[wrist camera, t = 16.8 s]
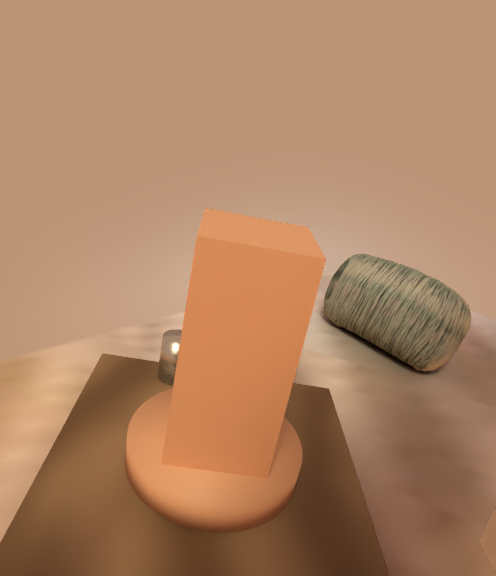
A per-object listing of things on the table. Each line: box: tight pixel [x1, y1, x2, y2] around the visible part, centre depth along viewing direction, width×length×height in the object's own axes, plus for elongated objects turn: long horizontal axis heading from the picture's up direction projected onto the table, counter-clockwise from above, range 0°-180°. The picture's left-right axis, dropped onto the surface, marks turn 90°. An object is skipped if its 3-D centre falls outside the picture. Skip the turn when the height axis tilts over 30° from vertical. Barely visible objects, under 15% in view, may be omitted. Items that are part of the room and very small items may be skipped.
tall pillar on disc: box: [124, 208, 326, 533], centre depth 22 cm, size 9×9×12 cm
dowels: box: [157, 330, 182, 385], centre depth 30 cm, size 8×2×3 cm, turn 91°
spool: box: [324, 254, 471, 371], centre depth 44 cm, size 14×10×10 cm
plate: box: [0, 354, 389, 576], centre depth 25 cm, size 16×16×2 cm
